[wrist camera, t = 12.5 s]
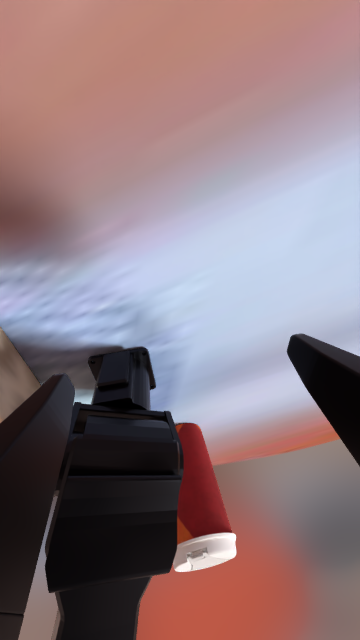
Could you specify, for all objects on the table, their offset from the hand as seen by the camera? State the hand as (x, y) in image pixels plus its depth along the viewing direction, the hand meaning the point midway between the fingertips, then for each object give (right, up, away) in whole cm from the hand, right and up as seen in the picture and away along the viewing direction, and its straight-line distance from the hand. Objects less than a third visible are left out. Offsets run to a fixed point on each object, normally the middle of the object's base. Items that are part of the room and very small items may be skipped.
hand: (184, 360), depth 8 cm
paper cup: (+1, -17, +26) cm, 31 cm away
